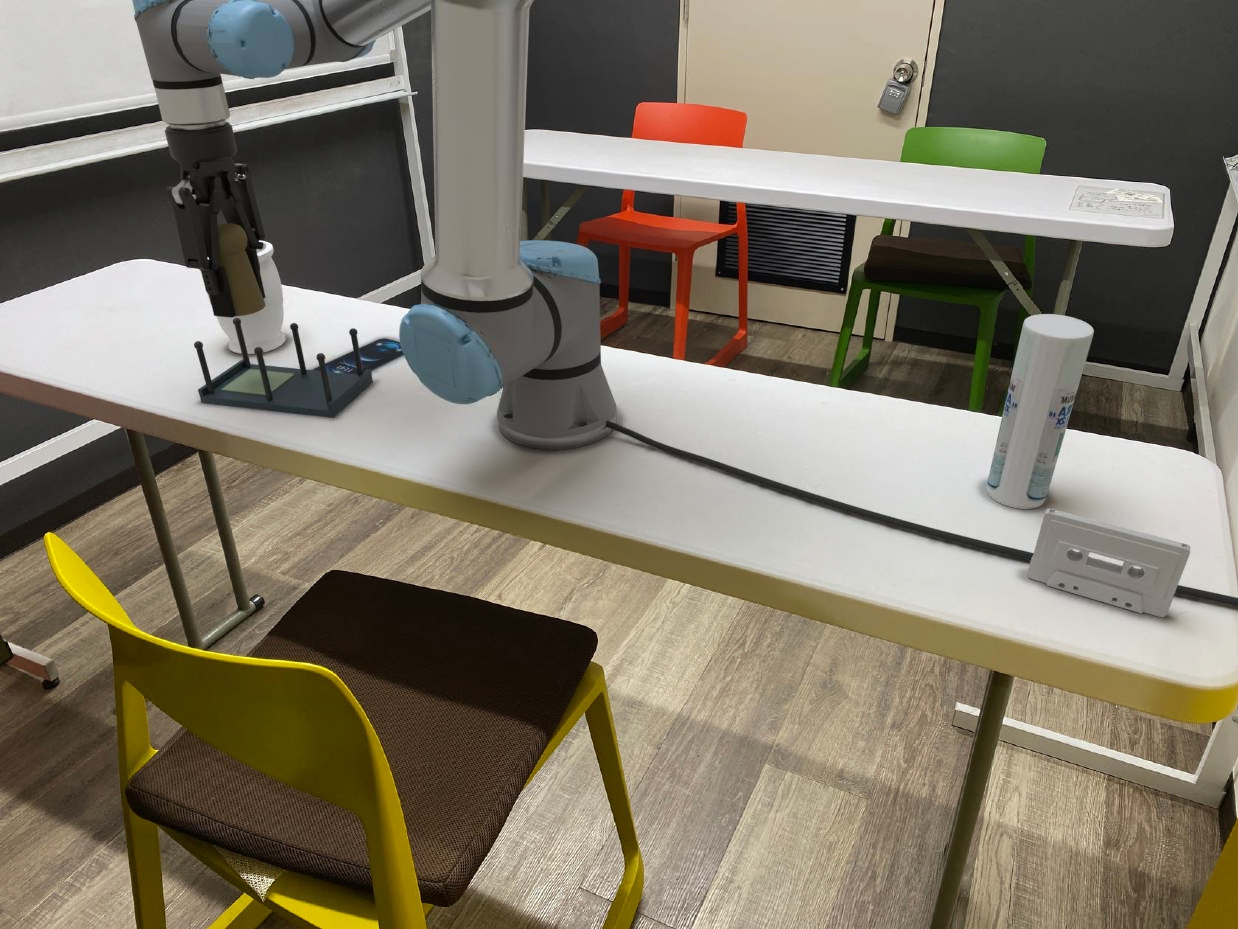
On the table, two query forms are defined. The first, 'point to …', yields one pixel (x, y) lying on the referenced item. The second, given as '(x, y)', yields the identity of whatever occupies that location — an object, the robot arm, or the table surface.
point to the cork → (238, 270)
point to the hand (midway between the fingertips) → (240, 306)
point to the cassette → (1102, 578)
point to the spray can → (1038, 408)
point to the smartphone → (367, 357)
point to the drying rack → (283, 382)
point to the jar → (261, 311)
